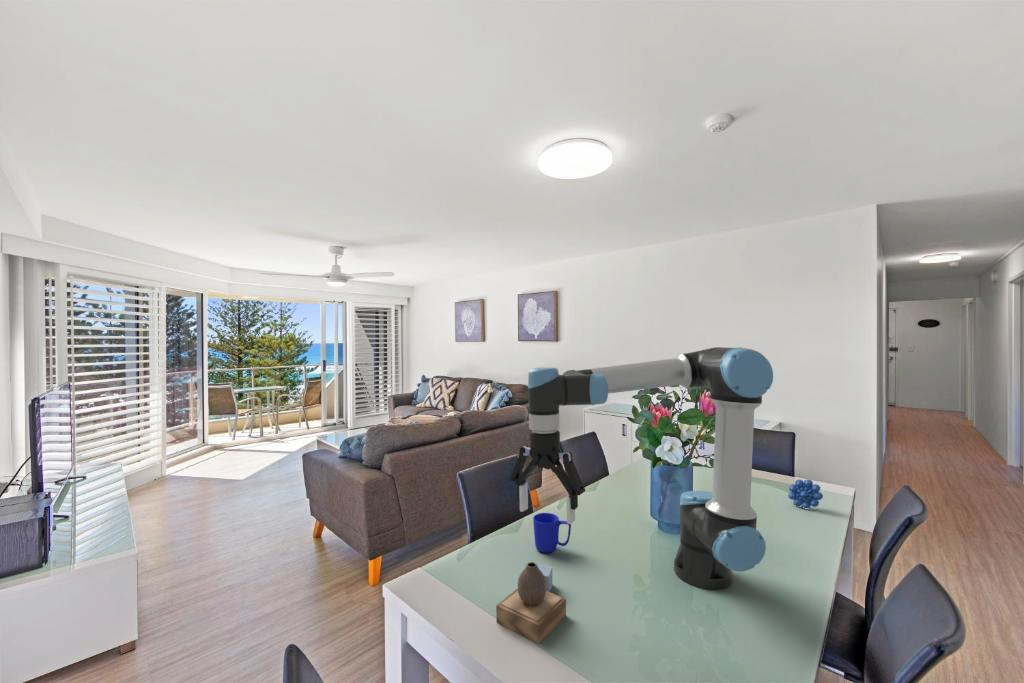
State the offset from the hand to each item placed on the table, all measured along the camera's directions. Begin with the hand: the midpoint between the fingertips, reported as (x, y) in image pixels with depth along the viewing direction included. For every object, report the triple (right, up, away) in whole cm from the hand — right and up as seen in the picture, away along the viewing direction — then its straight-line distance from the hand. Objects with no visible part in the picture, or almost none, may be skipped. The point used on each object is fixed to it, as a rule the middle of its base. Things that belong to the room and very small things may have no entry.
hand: (546, 515), depth 106 cm
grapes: (+108, -23, +63) cm, 127 cm away
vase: (-4, -19, -3) cm, 20 cm away
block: (-1, -23, +9) cm, 25 cm away
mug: (+4, -23, +31) cm, 39 cm away
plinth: (-4, -23, -3) cm, 24 cm away
